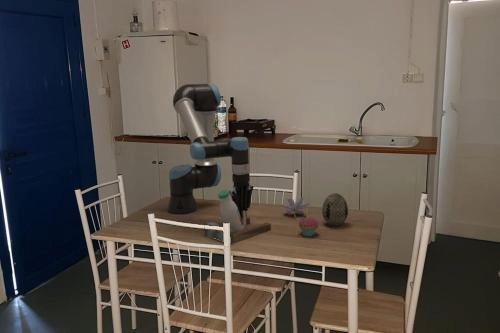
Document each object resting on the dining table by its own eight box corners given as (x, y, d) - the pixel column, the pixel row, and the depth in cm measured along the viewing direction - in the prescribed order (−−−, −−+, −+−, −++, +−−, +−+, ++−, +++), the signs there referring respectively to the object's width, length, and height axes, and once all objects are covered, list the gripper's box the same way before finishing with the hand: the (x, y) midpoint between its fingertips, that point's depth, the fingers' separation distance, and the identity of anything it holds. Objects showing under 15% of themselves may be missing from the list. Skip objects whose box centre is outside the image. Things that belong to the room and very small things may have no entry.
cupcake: (295, 232, 198) (295, 206, 196) (312, 230, 201) (312, 204, 199) (304, 239, 190) (304, 211, 188) (322, 236, 193) (322, 209, 191)
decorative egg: (317, 225, 207) (317, 194, 204) (330, 219, 215) (331, 189, 212) (339, 231, 199) (340, 198, 196) (352, 224, 208) (353, 193, 205)
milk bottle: (242, 235, 193) (229, 196, 185) (225, 237, 196) (212, 198, 187) (246, 224, 200) (233, 186, 191) (230, 226, 202) (216, 189, 194)
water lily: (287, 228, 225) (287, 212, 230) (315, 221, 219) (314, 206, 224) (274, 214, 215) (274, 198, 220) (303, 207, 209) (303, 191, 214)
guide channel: (204, 235, 196) (204, 222, 195) (246, 222, 213) (246, 210, 212) (229, 244, 185) (228, 230, 184) (270, 229, 202) (270, 217, 201)
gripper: (235, 176, 188) (238, 230, 193) (257, 171, 197) (259, 222, 202) (224, 174, 194) (226, 226, 198) (245, 169, 202) (247, 219, 207)
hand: (242, 224), depth 200 cm, fingers closed
